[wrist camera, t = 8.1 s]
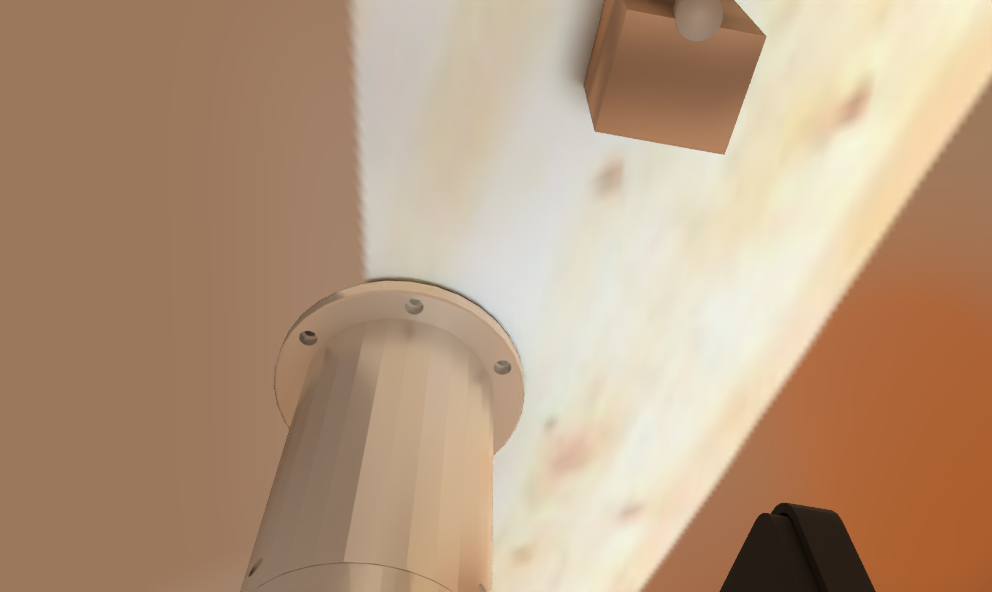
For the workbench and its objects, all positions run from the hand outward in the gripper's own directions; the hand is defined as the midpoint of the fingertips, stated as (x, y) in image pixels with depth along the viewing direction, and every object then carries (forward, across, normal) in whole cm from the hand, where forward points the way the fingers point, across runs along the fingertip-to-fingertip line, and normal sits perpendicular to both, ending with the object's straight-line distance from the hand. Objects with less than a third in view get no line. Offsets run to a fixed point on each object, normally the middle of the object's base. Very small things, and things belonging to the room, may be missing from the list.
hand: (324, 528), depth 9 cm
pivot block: (+29, -9, 0) cm, 30 cm away
